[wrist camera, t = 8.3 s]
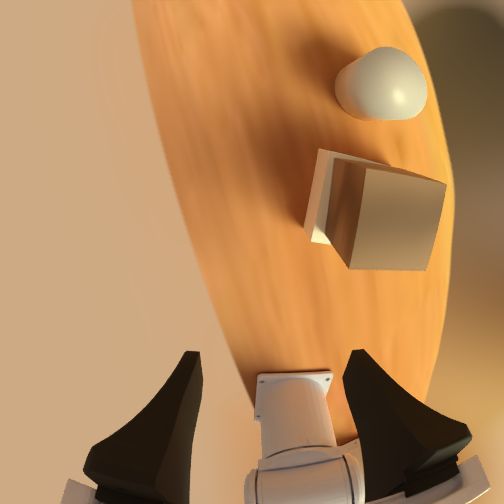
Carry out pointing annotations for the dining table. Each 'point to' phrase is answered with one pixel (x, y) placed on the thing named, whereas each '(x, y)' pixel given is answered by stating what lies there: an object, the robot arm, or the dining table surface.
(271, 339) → the dining table surface
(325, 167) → the cream block
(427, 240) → the walnut cube
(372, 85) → the cream smooth round part
